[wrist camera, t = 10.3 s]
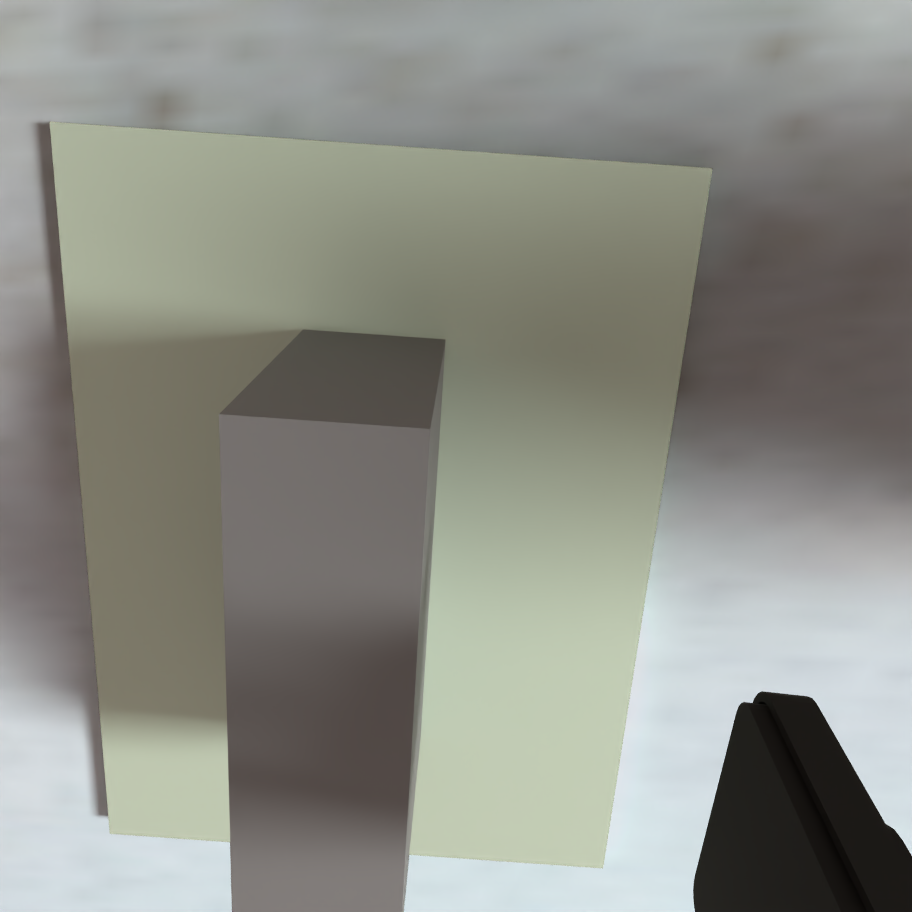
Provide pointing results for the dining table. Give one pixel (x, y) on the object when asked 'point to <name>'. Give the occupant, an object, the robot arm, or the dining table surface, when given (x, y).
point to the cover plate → (511, 454)
